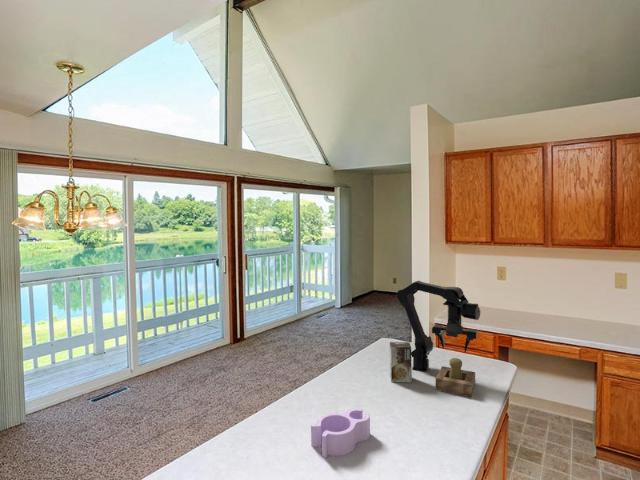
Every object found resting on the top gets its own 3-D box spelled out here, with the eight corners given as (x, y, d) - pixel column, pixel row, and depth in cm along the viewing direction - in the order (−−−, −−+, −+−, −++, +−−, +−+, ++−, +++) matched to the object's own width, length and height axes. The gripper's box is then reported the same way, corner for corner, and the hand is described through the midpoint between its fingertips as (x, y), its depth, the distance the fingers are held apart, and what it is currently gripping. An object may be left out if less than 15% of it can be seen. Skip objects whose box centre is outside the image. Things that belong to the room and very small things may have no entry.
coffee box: (409, 376, 169) (409, 342, 168) (411, 382, 163) (411, 347, 162) (389, 375, 170) (389, 341, 169) (390, 382, 164) (390, 346, 163)
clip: (354, 422, 133) (354, 403, 132) (378, 440, 122) (378, 419, 122) (306, 441, 122) (306, 421, 121) (328, 462, 111) (327, 440, 111)
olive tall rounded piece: (464, 387, 155) (464, 362, 155) (449, 386, 157) (449, 361, 156) (461, 381, 161) (462, 356, 161) (447, 380, 162) (447, 356, 162)
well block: (435, 389, 156) (435, 378, 156) (442, 376, 168) (442, 366, 168) (471, 397, 149) (471, 385, 149) (475, 383, 162) (475, 372, 161)
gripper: (429, 317, 162) (429, 352, 164) (475, 323, 153) (474, 360, 154) (434, 311, 172) (434, 344, 173) (478, 316, 163) (477, 351, 164)
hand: (454, 350), depth 166 cm, fingers open, 9 cm apart
